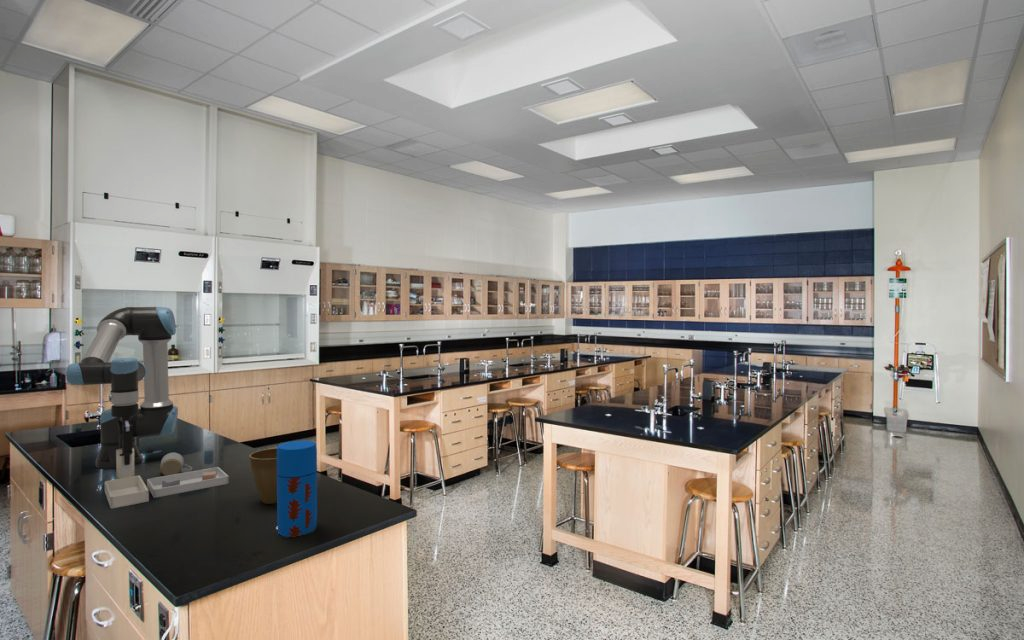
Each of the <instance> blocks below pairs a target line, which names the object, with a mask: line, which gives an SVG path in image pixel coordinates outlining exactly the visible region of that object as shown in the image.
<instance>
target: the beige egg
mask: <svg viewBox="0 0 1024 640" xmlns="http://www.w3.org/2000/svg"><path fill="white" fill-rule="evenodd" d="M132 451H133V453H132V474H126V475H122V456H120V454H122V448H121V449H117V450H116V468H115V469H116V471H115V472H116V474H115V475H116V479H120V478H127V477H133V476H136V475H135V464H134V448H132Z"/></svg>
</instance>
